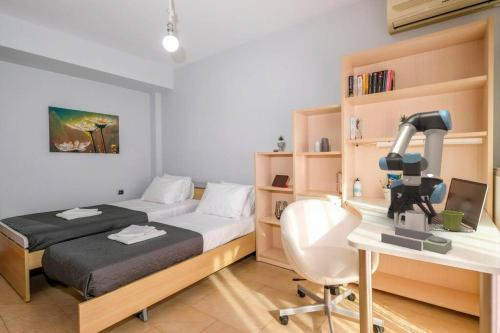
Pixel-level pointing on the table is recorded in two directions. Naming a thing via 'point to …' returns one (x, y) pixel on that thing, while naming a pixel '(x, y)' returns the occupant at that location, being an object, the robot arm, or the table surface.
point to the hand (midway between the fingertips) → (411, 228)
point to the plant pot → (452, 220)
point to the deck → (429, 244)
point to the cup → (414, 220)
